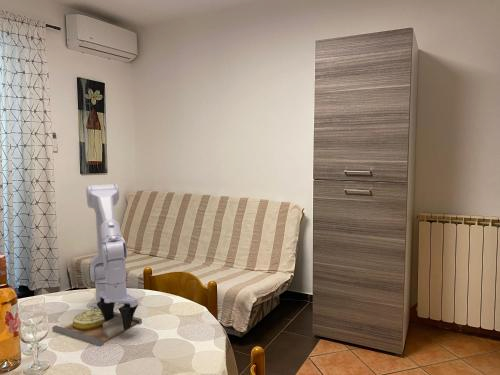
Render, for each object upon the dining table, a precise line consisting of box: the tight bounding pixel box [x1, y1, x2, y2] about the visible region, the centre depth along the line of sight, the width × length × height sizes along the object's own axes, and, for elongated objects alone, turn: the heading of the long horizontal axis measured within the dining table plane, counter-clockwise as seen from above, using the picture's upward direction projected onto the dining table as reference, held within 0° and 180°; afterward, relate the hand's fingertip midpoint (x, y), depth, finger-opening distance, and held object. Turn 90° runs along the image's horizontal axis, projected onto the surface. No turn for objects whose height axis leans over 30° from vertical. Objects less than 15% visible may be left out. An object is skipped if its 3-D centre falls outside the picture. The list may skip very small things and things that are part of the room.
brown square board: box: [63, 315, 138, 344], centre depth 114 cm, size 18×13×5 cm
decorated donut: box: [72, 308, 105, 330], centre depth 116 cm, size 10×11×4 cm
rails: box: [51, 307, 143, 347], centre depth 114 cm, size 16×21×2 cm
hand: (118, 325), depth 110 cm, fingers open, 7 cm apart
